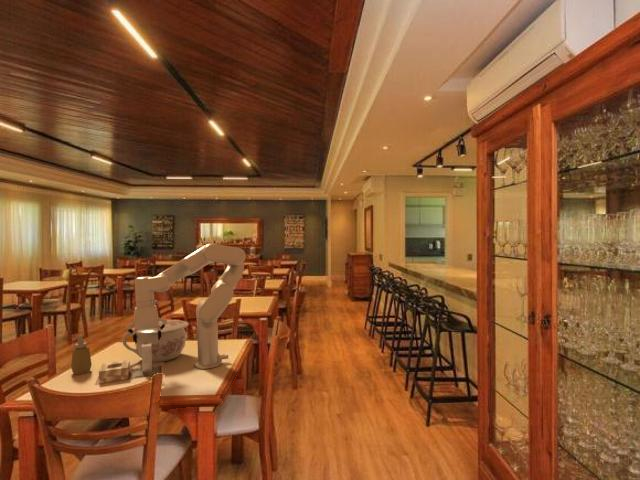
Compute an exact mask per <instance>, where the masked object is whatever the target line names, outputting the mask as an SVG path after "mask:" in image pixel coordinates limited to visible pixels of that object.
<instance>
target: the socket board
mask: <svg viewBox="0 0 640 480" xmlns="http://www.w3.org/2000/svg"><path fill="white" fill-rule="evenodd" d="M130 365H131V361H130V360H129V359H128V360H122V361H121V360H119V361H114V362H105V363H102V364H101V365H100V368H99V369H98V370H99V371H98V377H97V379H96V381H95V383H94V386H97V385H104V384H110V383H116V382H117V383H118V382H123V381H128V380H136V379H141V378H148V377H153V376H152V375H154V374H157V373H162V369H163V368H162V365H155V366H152V372H149V373H142V367H140V368H136V369H135V368H134V369H131V367H130ZM162 374H163V373H162Z"/></svg>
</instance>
